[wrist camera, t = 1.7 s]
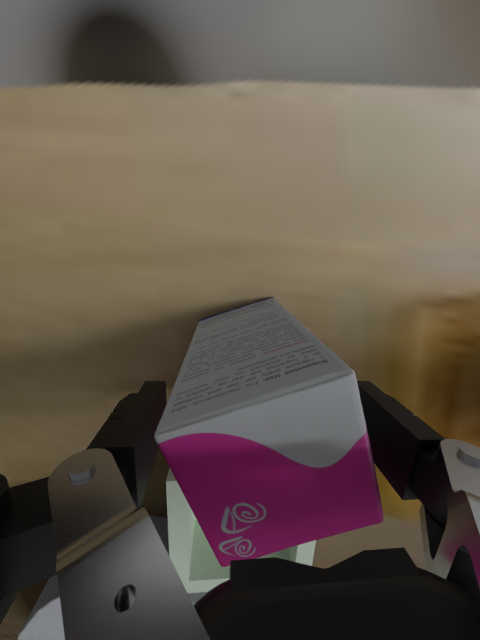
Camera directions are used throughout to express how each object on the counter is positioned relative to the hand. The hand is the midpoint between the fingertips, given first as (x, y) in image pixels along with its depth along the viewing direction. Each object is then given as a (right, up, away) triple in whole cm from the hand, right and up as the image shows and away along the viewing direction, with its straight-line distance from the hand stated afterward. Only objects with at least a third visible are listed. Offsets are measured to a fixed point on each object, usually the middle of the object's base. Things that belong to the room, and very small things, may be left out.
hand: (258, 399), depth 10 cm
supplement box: (0, +2, +8) cm, 8 cm away
